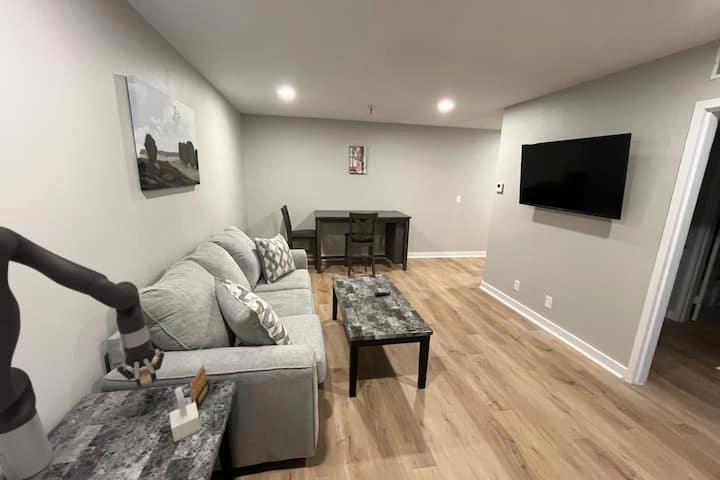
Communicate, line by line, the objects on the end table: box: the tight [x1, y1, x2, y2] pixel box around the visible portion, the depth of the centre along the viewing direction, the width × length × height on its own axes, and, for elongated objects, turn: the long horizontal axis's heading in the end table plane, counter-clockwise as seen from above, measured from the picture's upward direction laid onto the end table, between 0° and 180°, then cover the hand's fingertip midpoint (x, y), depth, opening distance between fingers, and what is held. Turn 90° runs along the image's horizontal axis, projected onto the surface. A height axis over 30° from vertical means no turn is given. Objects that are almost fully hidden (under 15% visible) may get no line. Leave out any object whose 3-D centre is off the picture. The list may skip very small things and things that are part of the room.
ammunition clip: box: [189, 365, 211, 411], centre depth 115 cm, size 11×2×12 cm, turn 2°
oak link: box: [128, 348, 160, 385], centre depth 108 cm, size 16×9×2 cm, turn 35°
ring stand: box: [169, 386, 202, 443], centre depth 103 cm, size 8×8×16 cm
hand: (147, 383), depth 105 cm, fingers closed on oak link, 3 cm apart
